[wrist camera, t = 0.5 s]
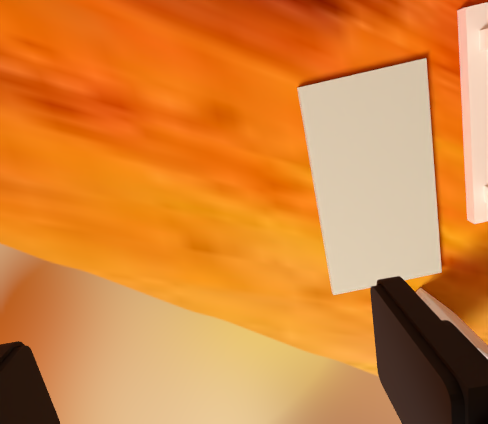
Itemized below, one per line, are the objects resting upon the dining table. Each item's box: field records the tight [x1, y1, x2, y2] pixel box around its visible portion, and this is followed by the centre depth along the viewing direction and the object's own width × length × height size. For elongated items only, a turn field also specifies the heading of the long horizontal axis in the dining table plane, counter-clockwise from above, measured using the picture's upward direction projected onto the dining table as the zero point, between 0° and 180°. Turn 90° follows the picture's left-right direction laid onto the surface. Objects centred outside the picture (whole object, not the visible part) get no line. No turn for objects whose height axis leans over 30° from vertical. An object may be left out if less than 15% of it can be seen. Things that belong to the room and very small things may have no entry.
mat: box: [297, 58, 442, 295], centre depth 45 cm, size 26×14×1 cm, turn 12°
